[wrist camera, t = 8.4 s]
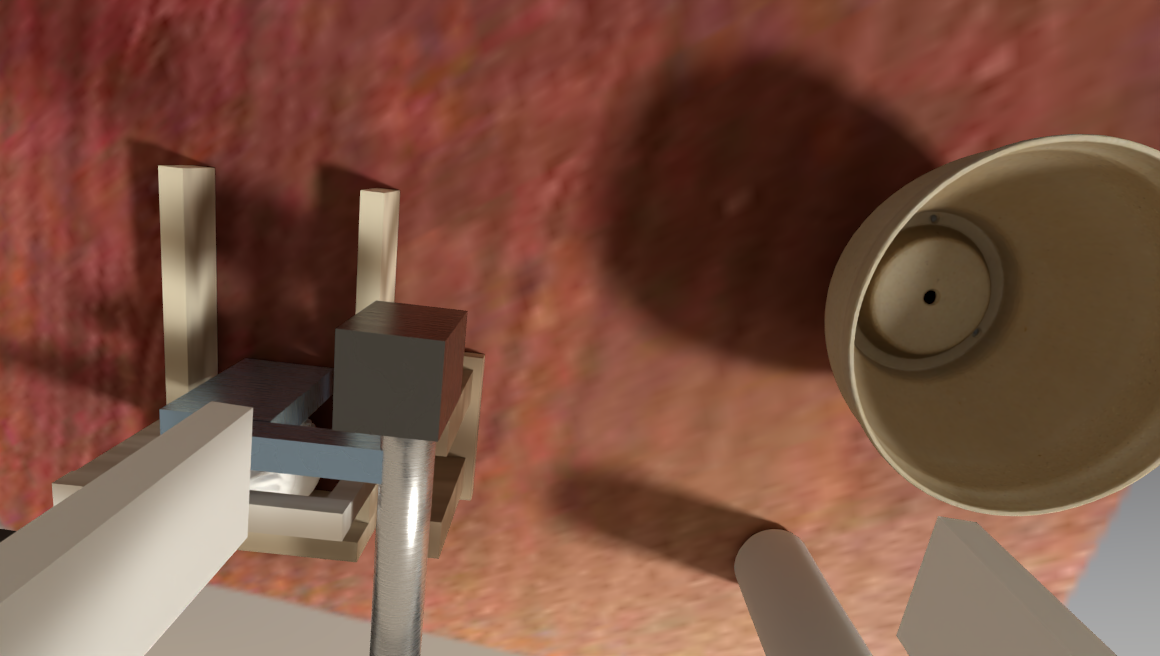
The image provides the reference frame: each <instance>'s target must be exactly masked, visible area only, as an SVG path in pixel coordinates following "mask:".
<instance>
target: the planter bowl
mask: <svg viewBox="0 0 1160 656" xmlns="http://www.w3.org/2000/svg"><path fill="white" fill-rule="evenodd" d="M930 290H933V291H935V294H936V299H935V301H934V302H933V303H932V304H927V303H926V302H924V299H923V298H924V295H925V293H926V292H927V291H930ZM825 339H826V347H827V352H828V357H829V361H830V365H831V369H832V372H833V375H834V377H835V380H836V383H837V385H838V387H839V390H840V392H841V394H842V396H843V398H844V400H845V401H846V403H847V405H848V406H849V408H850V410H851V411H852V413H853V414H854V416H855V417H856V419H857V420H858V421H859V423H860V424H861V426H862V428H863V430H864V432H865V433H866V435H867V437H868V438H869V440H870V441H871V443H872V444H873V445H874V447H875V448H876V449H877V451H878V452H879V453H880V454H881V456H882V457H883V458H884V459H885V460H886V461H887V462H888V463H889V464H890V465H891V466H892V467H893V468H894V469H895V470H896V471H897V472H898V473H899V474H900V475H901V476H903V477H904V478H905V479H906V480H907V481H908V482H910V483H911V484H913V485H914V486H915V487H917V488H918V489H920V490H922V491H923V492H925V493H927V494H928V495H930V496H932V497H934V498H936V499H938V500H940V501H943V502H945V503H948V504H950V505H953V506H956V507H959V508H962V509H966V510H970V511H974V512H978V513H985V514H991V515H1001V516H1030V515H1040V514H1047V513H1053V512H1059V511H1063V510H1067V509H1071V508H1075V507H1078V506H1081V505H1084V504H1087V503H1091V502H1093V501H1096V500H1098V499H1101V498H1103V497H1105V496H1108V495H1110V494H1113V493H1115V492H1117V491H1119V490H1121V489H1123V488H1125V487H1127V486H1129V485H1130V484H1132V483H1134V482H1135V481H1137V480H1139V479H1140V478H1142V477H1143V476H1145V475H1146V474H1148V473H1149V472H1150V471H1152V470H1153V469H1155V468H1156V467H1158V466H1159V465H1160V151H1158V150H1155V149H1153V148H1150V147H1148V146H1145V145H1143V144H1140V143H1136V142H1133V141H1129V140H1125V139H1121V138H1116V137H1110V136H1103V135H1091V134H1068V135H1056V136H1047V137H1040V138H1034V139H1029V140H1024V141H1020V142H1017V143H1013V144H1009V145H1006V146H1003V147H1000V148H997V149H994V150H989V151H985V152H981V153H978V154H974V155H971V156H967V157H964V158H961V159H958V160H955V161H953V162H950V163H948V164H945V165H943V166H941V167H938V168H936V169H934V170H932V171H930V172H928V173H926V174H924V175H922V176H920V177H918V178H917V179H915V180H913V181H912V182H910V183H908V184H907V185H905V186H903V187H902V188H901V189H899V190H898V191H897V192H895V193H894V194H893V195H891V196H890V197H889V198H888V199H886V200H885V201H884V202H883V203H882V204H881V205H879V206H878V207H877V208H876V209H875V210H874V211H873V212H872V213H871V214H870V215H869V216H868V218H867V219H866V220H865V221H864V222H863V223H862V224H861V226H860V227H859V228H858V229H857V231H856V232H855V233H854V235H853V236H852V238H851V239H850V241H849V242H848V244H847V245H846V247H845V249H844V251H843V252H842V254H841V256H840V258H839V260H838V263H837V265H836V267H835V270H834V272H833V275H832V278H831V281H830V285H829V289H828V294H827V300H826V307H825Z"/></svg>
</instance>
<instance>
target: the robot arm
mask: <svg viewBox="0 0 1160 656" xmlns="http://www.w3.org/2000/svg"><path fill="white" fill-rule="evenodd" d="M252 422H253V408H252V407H246V406H239V405H233V404H227V403H220V402H214V401H211V402H209V403H208V404H206V405H205V406H203V407H202V408H200V409H199V410H197V411H196V412H194V413H193V414H191V415H190V416H188V417H187V418H185V419H184V420H182V421H181V422H179V423H178V424H177V425H175V426H174V427H172V428H171V429H169V430H168V431H166V432H165V433H163V434H162V435H160V436H159V437H157V438H156V439H154V440H153V441H151V442H150V443H148V444H147V445H145V446H144V447H142V448H141V449H139V450H138V451H136V452H135V453H133V454H132V455H130V456H129V457H127V458H126V459H124V460H123V461H121V462H120V463H118V464H117V465H115V466H114V467H112V468H111V469H109V470H108V471H106V472H105V473H103V474H102V475H100V476H99V477H97V478H96V479H94V480H93V481H91V482H90V483H88V484H87V485H85V486H84V487H82V488H81V489H79V490H78V491H76V492H75V493H73V494H72V495H70V496H69V497H67V498H66V499H64V500H63V501H61V502H60V503H58V504H57V505H55V506H54V507H52V508H51V509H49V510H48V511H46V512H45V513H43V514H42V515H40V516H39V517H37V518H36V519H35V520H33V521H32V522H30V523H29V524H27V525H26V526H24V527H23V528H21V529H20V530H18V531H11V530H5V529H0V656H144V655H145V654H146V653H147V652H148V651H149V649H150V648H151V647H152V646H153V645H154V644H155V643H156V641H157V640H158V639H159V638H160V637H161V636H162V635H163V633H164V632H165V631H166V630H167V629H168V628H169V627H170V625H171V624H172V623H173V622H174V621H175V619H176V618H177V617H178V616H179V615H180V614H181V613H182V612H183V611H184V609H185V608H186V607H187V606H188V605H189V604H190V602H191V601H192V600H193V599H194V598H195V597H196V596H197V595H198V593H199V592H200V591H201V590H202V589H203V588H204V587H205V585H206V584H207V583H208V582H209V581H210V580H211V579H212V577H213V576H214V575H215V574H216V573H217V572H218V571H219V569H220V568H221V567H222V566H223V565H224V564H225V562H226V561H227V560H228V559H229V558H230V557H231V556H232V554H233V553H234V552H235V551H236V550H237V549H238V548H239V546H240V545H241V544H242V543H243V542H244V541H245V540H246V538H247V537H248V514H249V491H250V468H251V445H252ZM896 636H897V637H898V639H899V640H900V642H901V643H902V645H903V647H904V648H905V650H906V651H907V653H908V654H909V656H1117V655H1116V654H1115V653H1114V652H1113V651H1112V650H1110V648H1108V647H1107V646H1106V645H1105V644H1104V643H1103V642H1102V641H1101V640H1100V639H1099V638H1098V637H1097V636H1096V635H1095V634H1094V633H1093V632H1092V631H1090V630H1089V629H1088V628H1087V627H1086V626H1085V625H1084V624H1083V623H1082V622H1081V621H1080V620H1079V619H1077V617H1076V616H1075V615H1074V614H1073V613H1071V611H1069V610H1068V609H1067V608H1066V607H1065V606H1064V605H1063V604H1062V603H1061V602H1060V601H1059V600H1058V599H1057V598H1056V597H1055V596H1054V595H1053V594H1052V593H1050V592H1049V591H1048V590H1047V589H1046V588H1045V587H1044V586H1043V585H1042V584H1041V583H1040V582H1039V581H1038V580H1037V579H1036V578H1035V577H1034V576H1033V575H1031V574H1030V573H1029V572H1028V571H1027V570H1026V569H1025V568H1024V567H1023V566H1022V565H1021V564H1020V563H1019V562H1018V561H1017V560H1016V559H1015V558H1014V557H1012V556H1011V555H1010V554H1009V553H1008V552H1007V551H1006V550H1005V549H1004V548H1003V547H1002V546H1001V545H1000V544H999V543H998V542H997V541H996V540H995V539H993V538H992V537H991V536H990V535H989V534H988V533H987V532H986V531H985V530H984V529H983V528H982V527H981V526H980V525H979V524H978V523H977V522H971V521H965V520H959V519H952V518H946V517H940V516H938V518H937V521H936V524H935V526H934V529H933V532H932V535H931V538H930V541H929V544H928V546H927V549H926V552H925V555H924V558H923V561H922V564H921V566H920V569H919V572H918V575H917V578H916V581H915V584H914V586H913V589H912V592H911V595H910V598H909V601H908V604H907V606H906V609H905V612H904V615H903V618H902V621H901V624H900V626H899V629H898V632H897V635H896Z"/></svg>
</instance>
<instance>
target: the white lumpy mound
mask: <svg viewBox="0 0 1160 656" xmlns="http://www.w3.org/2000/svg"><path fill="white" fill-rule="evenodd" d="M300 426H308V427H315V424H313V423H312V420H310V419H308V418H307V419H306V420H305V421H304V422H303V423H302V424H301V425H300ZM319 479H320V477H310V476H301V475H292V474H282V473H273V472H264V471H254V470H250V490H256V491H265V492H275V493H284V494H294V495H303V496H309V495H310V494H311V493H312V492H313V490H314V489H315V487H316V485H317V483H318V481H319Z"/></svg>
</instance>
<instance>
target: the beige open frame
mask: <svg viewBox="0 0 1160 656" xmlns="http://www.w3.org/2000/svg"><path fill="white" fill-rule="evenodd" d="M158 175H159V204H160V233H161V261H162V290H163V318H164V347H165V376H166V404H169V403H171V402H172V401H174V400H176V399H178V398H179V397H181V396H183V395H184V394H186V393H188V392H189V391H191V390H193V389H194V388H196V387H198V386H199V385H201V384H203V383H205V382H206V381H208V380H210V379H211V378H213V377H215V376H216V375H218V349H217V279H216V210H215V168H212V167H204V166H195V165H158ZM399 201H400V190H392V189H383V188H373V189H365V190H360V214H359V240H358V266H357V292H356V314H357V313H359V312H360V311H362V310H363V309H364V308H366V307H367V306H369V305H370V304H372V303H373V302H375V301H376V300H377V301H386V302H394V295H395V277H396V258H397V239H398V220H399ZM159 436H160V419H159V420H157V421H156V422H154V423H152V424H151V425H149V426H147V427H146V428H144V429H143V430H141V431H139V432H138V433H136V434H134V435H133V436H131V437H130V438H128V439H126V440H125V441H123V442H121V443H120V444H118V445H117V446H115V447H113V448H112V449H110V450H109V451H107V452H105V453H104V454H102V455H100V456H99V457H97V458H96V459H94V460H92V461H91V462H89V463H87V464H86V465H84V466H83V467H81V468H79V469H78V470H76V471H71V472H69V473H68V474H66V475H65V476H63V477H61V478H60V479H58V480H56V481H55V482H53V483H52V491H53V503H54V506H55V505H57V504H58V503H60V502H61V501H63V500H64V499H66V498H67V497H69V496H70V495H72V494H73V493H75V492H76V491H78V490H79V489H81V488H82V487H84V486H85V485H87V484H88V483H90V482H91V481H93V480H94V479H96V478H97V477H99V476H100V475H102V474H103V473H105V472H106V471H108V470H109V469H111V468H112V467H114V466H115V465H117V464H118V463H120V462H121V461H123V460H124V459H126V458H127V457H129V456H130V455H132V454H133V453H135V452H136V451H138V450H139V449H141V448H142V447H144V446H145V445H147V444H148V443H150V442H151V441H153V440H154V439H156V438H157V437H159ZM377 499H378V484H375V483H366V482H357V481H347V480H340V481H339V482H338V484H337V485H336V487H335V488H334V489H333V491H332V492H331V491H322V490H313V492H312V493H311V494H310V495H309V496H303V495H294V494H284V493H275V492H265V491H256V490H250V491H249V514H248V537H247V538H246V540H245V541H244V542H243V543H242V544H241V545H240V546H239V548H238V549H237V550H243V551H253V552H263V553H272V554H282V555H292V556H301V557H311V558H321V559H330V560H340V561H350V562H357V561H358V559H359V557H360V555H361V553H362V552H363V550H364V548H365V546H366V544H367V542H368V541H369V539H370V537H371V535H372V533H373V532H374V530H375V528H376V518H377Z"/></svg>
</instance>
